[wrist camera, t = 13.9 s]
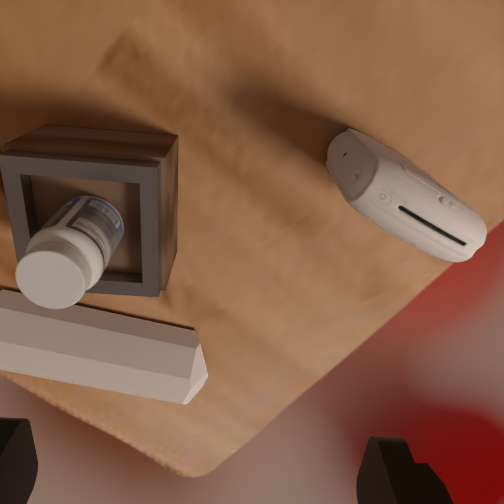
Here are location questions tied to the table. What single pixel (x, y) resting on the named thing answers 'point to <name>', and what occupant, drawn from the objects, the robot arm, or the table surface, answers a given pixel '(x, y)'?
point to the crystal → (100, 350)
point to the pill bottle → (70, 252)
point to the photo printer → (403, 198)
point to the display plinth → (100, 195)
